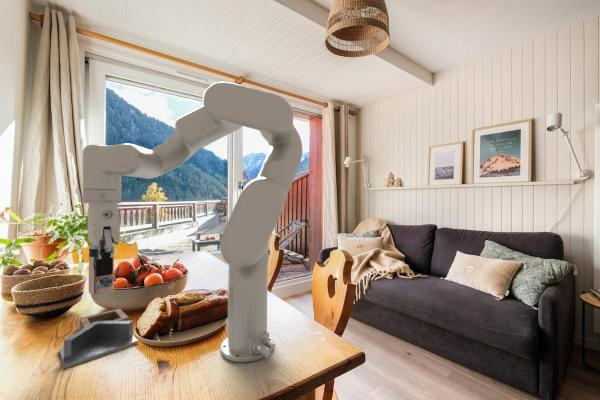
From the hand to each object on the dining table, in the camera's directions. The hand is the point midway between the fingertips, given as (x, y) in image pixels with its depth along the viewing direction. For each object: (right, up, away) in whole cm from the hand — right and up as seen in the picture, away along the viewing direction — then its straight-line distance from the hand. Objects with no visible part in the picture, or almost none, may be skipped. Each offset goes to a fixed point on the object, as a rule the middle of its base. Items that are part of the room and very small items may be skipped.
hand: (101, 272), depth 65 cm
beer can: (0, -5, 0) cm, 5 cm away
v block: (-1, -19, +1) cm, 19 cm away
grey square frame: (-7, -19, +11) cm, 23 cm away
